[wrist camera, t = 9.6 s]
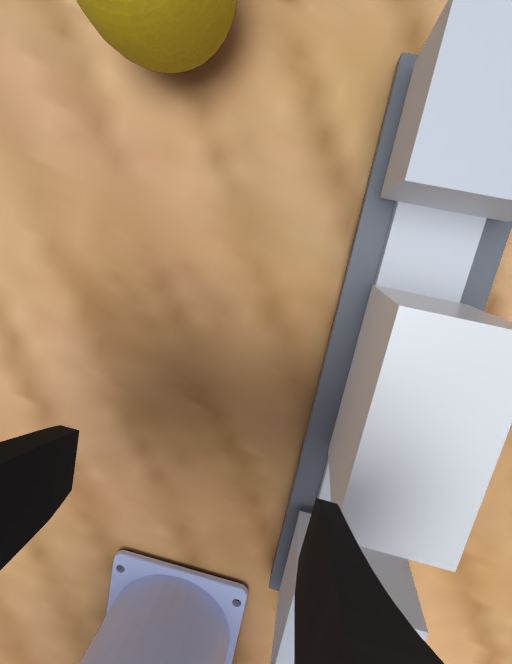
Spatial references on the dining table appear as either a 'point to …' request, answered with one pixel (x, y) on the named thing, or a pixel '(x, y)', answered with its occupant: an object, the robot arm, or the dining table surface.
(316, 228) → the dining table surface
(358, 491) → the block
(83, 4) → the lemon
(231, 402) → the dining table surface
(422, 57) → the board
